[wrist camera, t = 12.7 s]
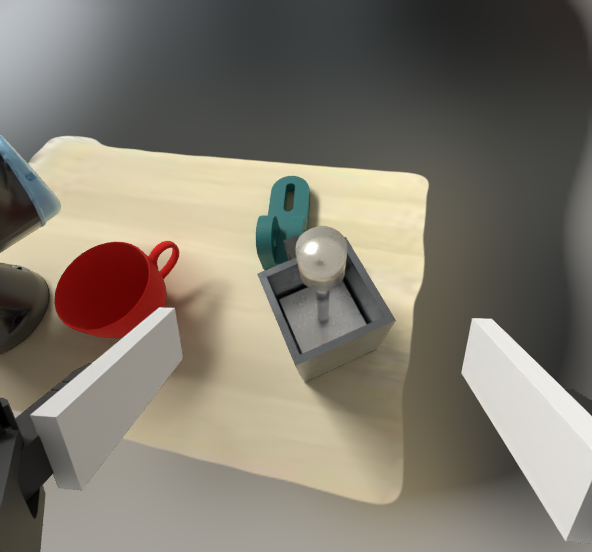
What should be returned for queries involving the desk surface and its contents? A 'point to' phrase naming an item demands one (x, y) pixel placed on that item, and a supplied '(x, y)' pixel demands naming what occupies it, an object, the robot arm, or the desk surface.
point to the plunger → (321, 291)
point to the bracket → (282, 220)
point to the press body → (345, 347)
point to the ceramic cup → (113, 288)
